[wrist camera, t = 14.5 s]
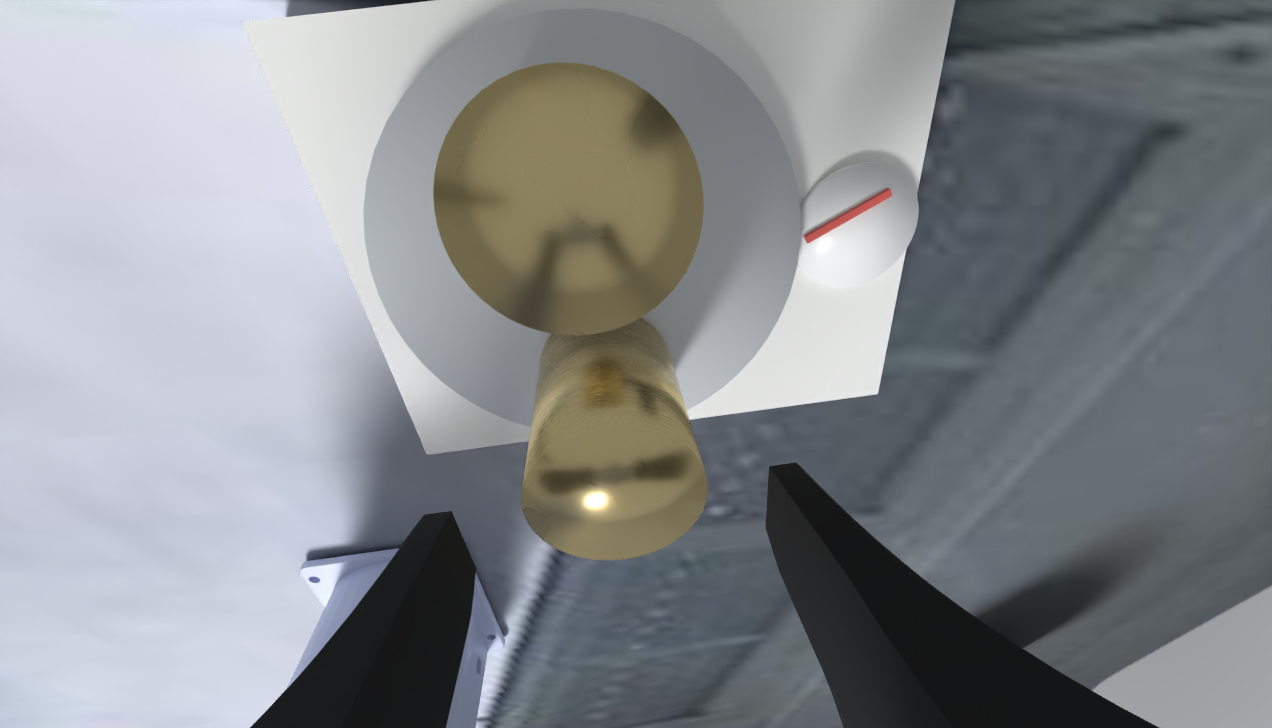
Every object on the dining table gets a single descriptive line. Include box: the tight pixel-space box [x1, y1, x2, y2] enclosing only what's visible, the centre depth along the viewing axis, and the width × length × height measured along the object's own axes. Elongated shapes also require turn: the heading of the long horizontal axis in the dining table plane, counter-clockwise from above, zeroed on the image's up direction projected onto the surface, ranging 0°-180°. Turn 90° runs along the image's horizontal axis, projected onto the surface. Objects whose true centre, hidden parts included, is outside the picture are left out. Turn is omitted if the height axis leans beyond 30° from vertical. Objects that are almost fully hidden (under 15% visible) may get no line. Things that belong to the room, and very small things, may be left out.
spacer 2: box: [521, 318, 708, 560], centre depth 15 cm, size 4×4×6 cm
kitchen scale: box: [241, 0, 955, 455], centre depth 16 cm, size 14×18×3 cm
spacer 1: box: [433, 62, 704, 335], centre depth 11 cm, size 4×4×6 cm
